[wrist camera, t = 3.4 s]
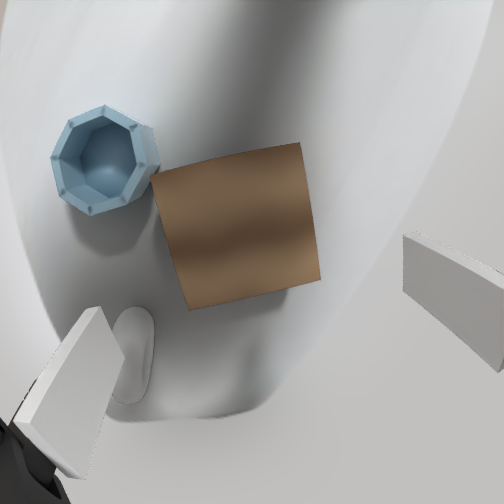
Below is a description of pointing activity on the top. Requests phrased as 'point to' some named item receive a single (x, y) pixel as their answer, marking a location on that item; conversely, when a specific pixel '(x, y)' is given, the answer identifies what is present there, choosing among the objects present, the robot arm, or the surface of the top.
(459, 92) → the top surface
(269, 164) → the board
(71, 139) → the bowl
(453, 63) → the top surface
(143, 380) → the donut
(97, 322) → the robot arm
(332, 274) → the top surface
